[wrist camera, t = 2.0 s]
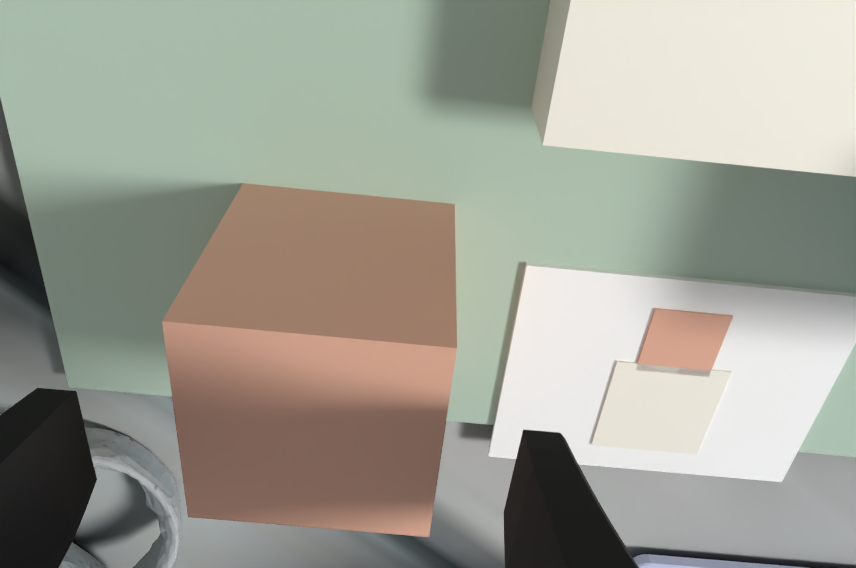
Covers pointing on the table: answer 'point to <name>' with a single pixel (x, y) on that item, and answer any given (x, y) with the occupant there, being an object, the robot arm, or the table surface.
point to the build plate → (361, 169)
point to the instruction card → (670, 369)
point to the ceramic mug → (159, 491)
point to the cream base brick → (703, 81)
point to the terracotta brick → (316, 361)
